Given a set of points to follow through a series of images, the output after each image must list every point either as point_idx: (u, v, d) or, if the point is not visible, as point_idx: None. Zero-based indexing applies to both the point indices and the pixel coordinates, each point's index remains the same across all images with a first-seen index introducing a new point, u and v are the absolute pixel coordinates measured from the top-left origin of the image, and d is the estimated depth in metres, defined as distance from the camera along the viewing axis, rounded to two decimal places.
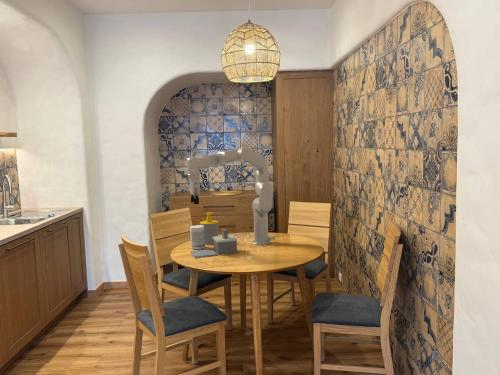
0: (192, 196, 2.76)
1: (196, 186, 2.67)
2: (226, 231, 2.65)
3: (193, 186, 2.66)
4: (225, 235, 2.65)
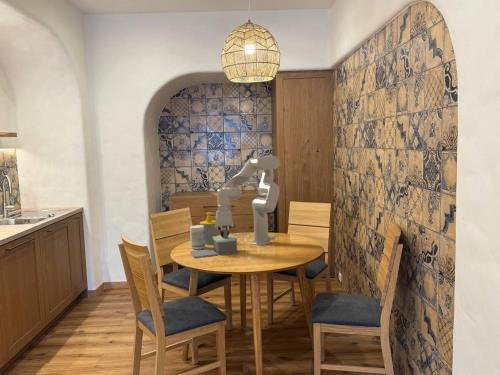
0: None
1: None
2: (226, 231, 2.65)
3: (231, 216, 2.67)
4: (225, 235, 2.65)
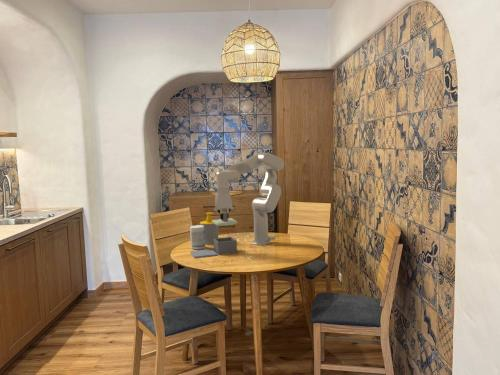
0: None
1: None
2: (226, 214, 2.64)
3: None
4: (225, 218, 2.64)
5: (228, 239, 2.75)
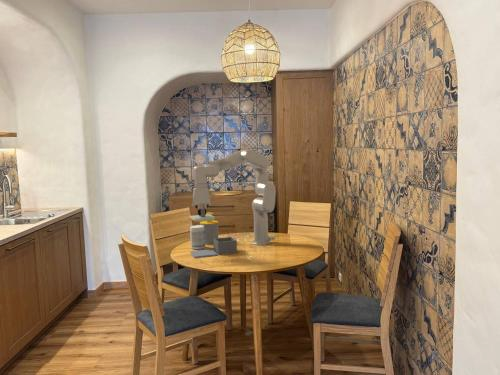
0: None
1: None
2: (203, 209, 2.59)
3: None
4: (202, 213, 2.59)
5: (228, 239, 2.75)
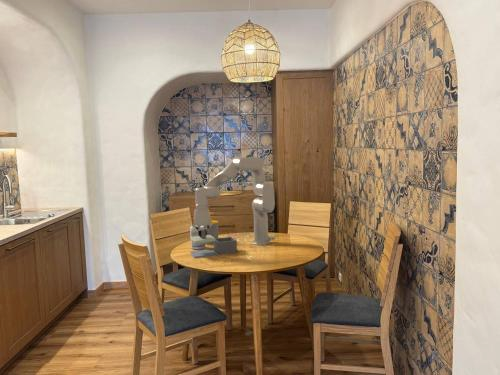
0: None
1: None
2: (204, 231, 2.61)
3: (209, 216, 2.63)
4: (203, 235, 2.61)
5: (228, 239, 2.75)
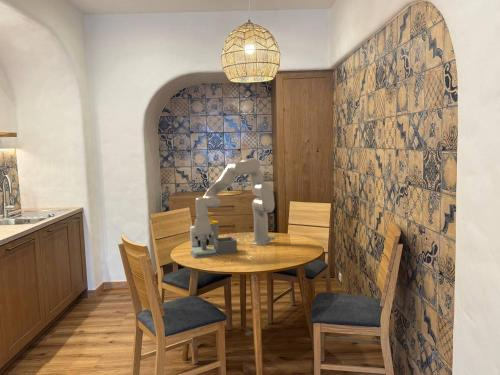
0: None
1: None
2: (205, 243, 2.61)
3: None
4: (204, 247, 2.61)
5: (228, 239, 2.75)
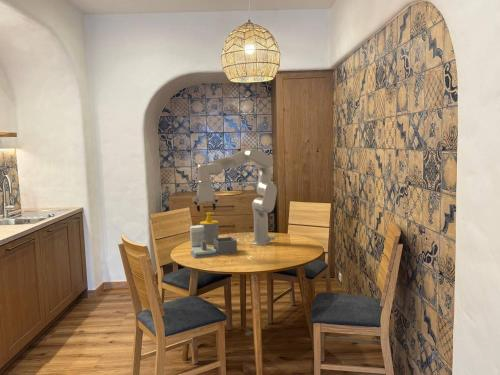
0: None
1: None
2: (205, 243, 2.61)
3: None
4: (204, 247, 2.61)
5: (228, 239, 2.75)
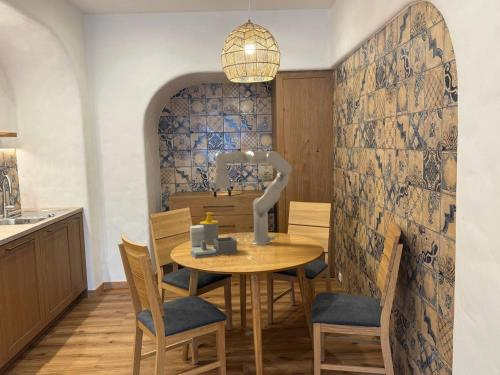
0: None
1: None
2: (205, 243, 2.61)
3: None
4: (204, 247, 2.61)
5: (228, 239, 2.75)
